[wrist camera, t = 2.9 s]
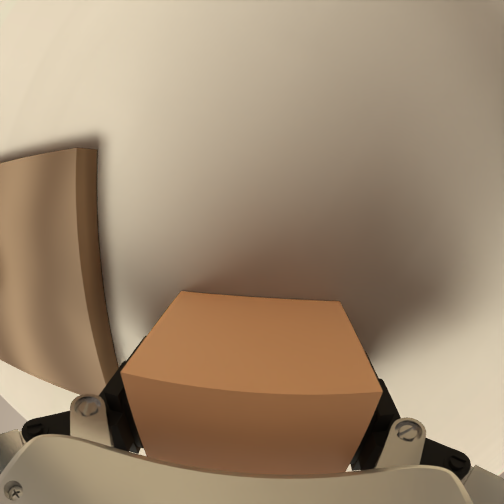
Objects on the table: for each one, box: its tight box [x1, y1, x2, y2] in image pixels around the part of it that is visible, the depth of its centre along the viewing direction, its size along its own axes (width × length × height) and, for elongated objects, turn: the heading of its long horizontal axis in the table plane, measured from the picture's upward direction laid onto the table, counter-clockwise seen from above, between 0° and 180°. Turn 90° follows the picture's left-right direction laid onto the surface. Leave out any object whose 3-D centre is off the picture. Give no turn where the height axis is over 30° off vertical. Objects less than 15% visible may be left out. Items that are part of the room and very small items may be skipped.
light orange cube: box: [121, 291, 383, 475], centre depth 9 cm, size 6×6×6 cm
